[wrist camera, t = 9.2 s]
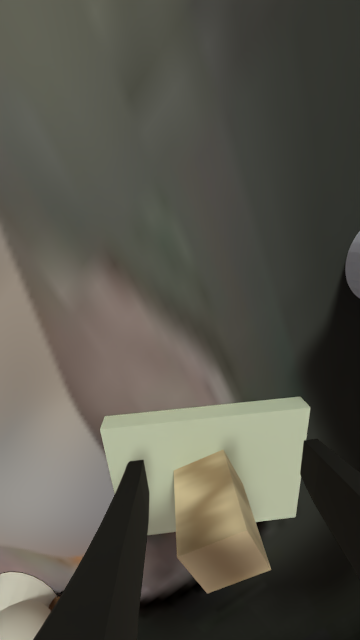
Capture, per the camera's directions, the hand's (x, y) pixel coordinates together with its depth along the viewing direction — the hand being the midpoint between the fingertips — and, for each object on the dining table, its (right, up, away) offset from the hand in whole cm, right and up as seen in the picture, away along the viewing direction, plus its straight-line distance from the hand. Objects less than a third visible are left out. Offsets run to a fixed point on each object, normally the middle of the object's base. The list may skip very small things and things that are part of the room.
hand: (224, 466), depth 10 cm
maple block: (+1, -8, +11) cm, 14 cm away
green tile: (+1, -8, +12) cm, 15 cm away
